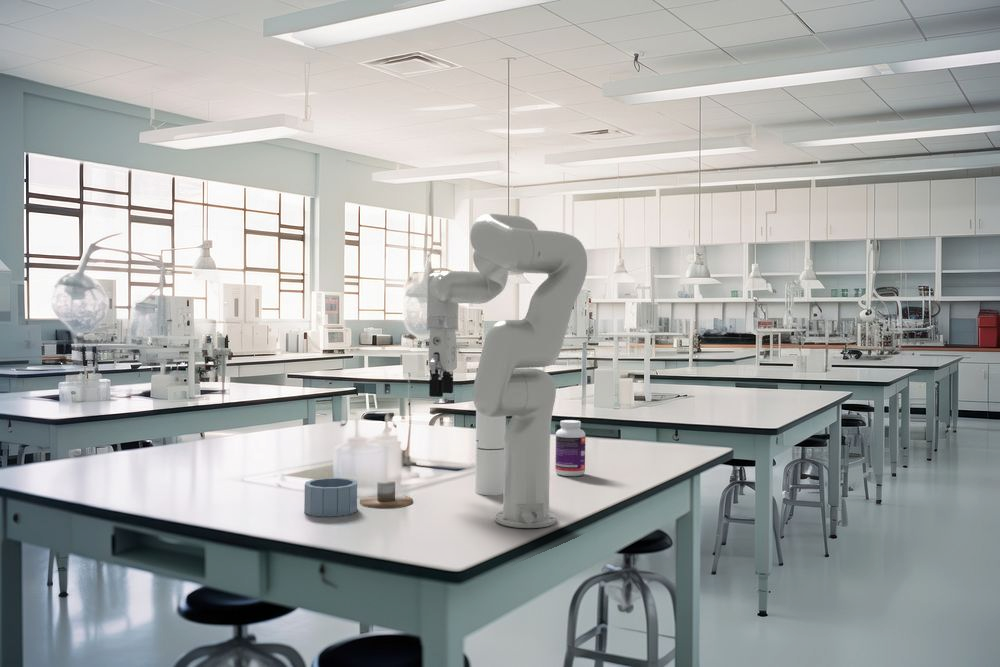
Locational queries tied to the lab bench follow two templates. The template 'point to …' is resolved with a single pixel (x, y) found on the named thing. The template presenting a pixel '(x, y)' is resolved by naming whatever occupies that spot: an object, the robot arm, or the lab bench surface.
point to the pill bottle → (570, 449)
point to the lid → (386, 497)
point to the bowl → (330, 497)
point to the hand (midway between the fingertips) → (441, 394)
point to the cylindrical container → (489, 454)
